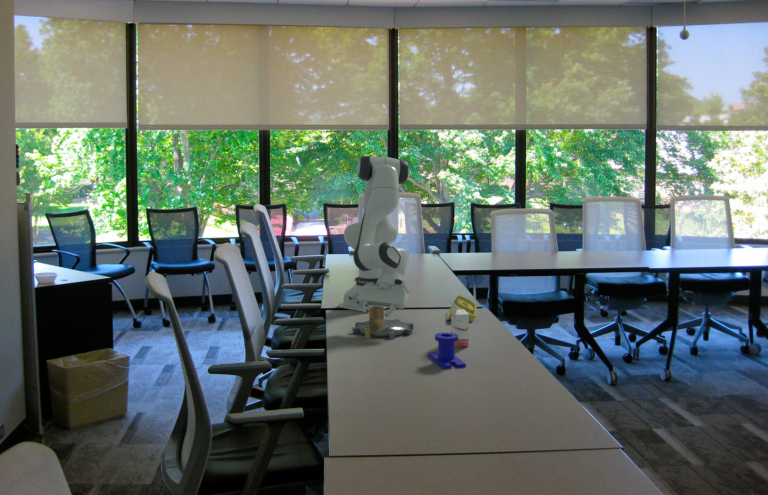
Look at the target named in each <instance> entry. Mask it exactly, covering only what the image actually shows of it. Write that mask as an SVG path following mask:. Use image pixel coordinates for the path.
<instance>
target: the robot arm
mask: <svg viewBox="0 0 768 495" xmlns="http://www.w3.org/2000/svg"><path fill="white" fill-rule="evenodd" d="M356 174H357V177H358V178H359V179H360V180H361V181H364V182H365V184H364V185H365V186H364V192H363V198H362V204H361V205H362V209H363V215H362V219H361V222H355V223H354V222H353V223H352V224H349V225H347V226H346V227H345V229H344V232H343V239H344V241H345V243H346V245H348V246H349V247H350V248H351V249H352V250H353V263H354V264H355V266H356V268H358V276H357V277H356V278H354V279H353V282H355V284H354V285H353V286H352V287H350V288H349V289H348V290H347V291H346V292H345V293H344V294H343V300H342V302H340V303H339V304H338V308H342V309H347V310H352V311H359V312H362V313H363V314H364V315H369V308H372V307H374V306H376V307H384V311H385V312H384V317H387V318H389V317H390V316H391V314H392V313H393V312H394V311H396V310H397V309H400V310H402V309H405V308H406V307H407V305H408V303H409V302H408V301H409V298H410V297H409V294H410V292H411V290H410V288H409V286H408V285H407V283H406V281H404V280H402V279H403V277H404V276H405V274H406V271H407V269H408V265H409V259H410V257H409V253H408V252H407V250H405V249H404V248H402V247H400V246H394V245H393V244H392V243H394V242H395V241H396V239H397V237H398V229H397V227H396V225H395V224H394V223H393V222H392V221H391V219H390V217H389V216H390V214H392V213H393V212H394V211H395V210H396V208H397V206H398V204H399V199H400V198H399V197H400V196H399V195H400V192H399V191H400V185H403V184H405V183H407V180H408V178H409V176H410V165H409V163H408V162H407V160H404V159H401V158H399V159H397V158H393V157H390V156H389V157H388V156H370V155H364V156H363V155H362V156H361V157H360V158H359V160H358V162H357V163H356ZM387 308H388V310H385V309H387Z"/></svg>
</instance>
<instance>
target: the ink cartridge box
mask: <svg viewBox="0 0 768 495" xmlns="http://www.w3.org/2000/svg"><path fill="white" fill-rule="evenodd" d="M453 302H454V301H452V302H451V306H452V310H451V319H450V323H451V324H450V333H455V334H457V335H458V341H455V348H465V347H466V348H467V347H469V325H470V324H469V323H470V322H469V314H468V313H467V312H466V311H465V310H464V309H460V310H456V308H457V306H456V305H455V304H454V303H453ZM453 307H455V309H454V308H453Z"/></svg>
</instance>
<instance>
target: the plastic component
mask: <svg viewBox="0 0 768 495" xmlns="http://www.w3.org/2000/svg"><path fill="white" fill-rule="evenodd" d="M452 302H453V303H454V304H455V305H456V306H457V308H456V310H460V309H464V310H465V311H466V312H467V313H468V314H469V323H470V322H471V323H472V322H473V321H474V319H475V318H476V315H477V305H476V304H475V303H474V302H473V301H472V300H471V299H469V298H467V297H464V296H462V295H457V296H456V298H455V300H454V301H452ZM453 308H454V309H455V307H453ZM451 310H452V305H451V306H450V308H449V310H448V312H447V313H446V318H445V320H446V321H448V322H449V321H451Z"/></svg>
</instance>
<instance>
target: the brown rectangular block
mask: <svg viewBox="0 0 768 495" xmlns="http://www.w3.org/2000/svg"><path fill="white" fill-rule="evenodd" d="M384 311H385V309H384V307H376V306H374V307H372V308H369V312H368V315H369V318H368V319H369V320H368V321H369V327H370V328H373V329H382V328H384V320H385V319H384V318H385V312H384Z"/></svg>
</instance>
